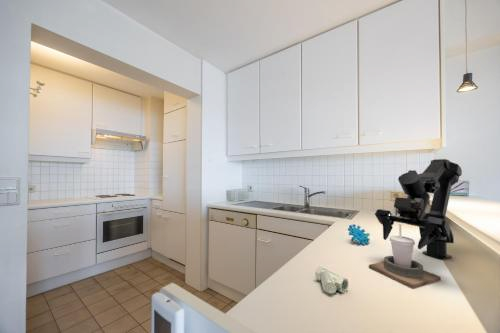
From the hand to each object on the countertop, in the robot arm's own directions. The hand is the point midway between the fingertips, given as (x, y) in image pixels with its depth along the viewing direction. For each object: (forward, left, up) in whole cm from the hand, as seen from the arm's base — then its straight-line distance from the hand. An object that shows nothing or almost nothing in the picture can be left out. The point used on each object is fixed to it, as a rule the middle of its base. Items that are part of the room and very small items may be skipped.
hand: (400, 243), depth 63 cm
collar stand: (-1, 0, -10) cm, 10 cm away
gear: (-14, -26, -10) cm, 31 cm away
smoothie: (-1, 0, -9) cm, 9 cm away
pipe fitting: (+26, -2, -10) cm, 28 cm away
